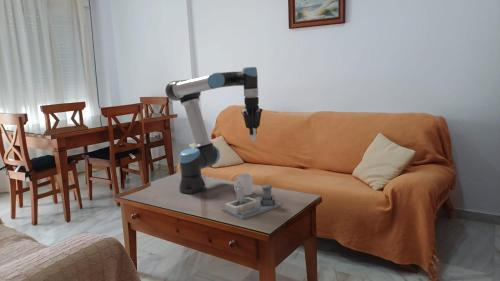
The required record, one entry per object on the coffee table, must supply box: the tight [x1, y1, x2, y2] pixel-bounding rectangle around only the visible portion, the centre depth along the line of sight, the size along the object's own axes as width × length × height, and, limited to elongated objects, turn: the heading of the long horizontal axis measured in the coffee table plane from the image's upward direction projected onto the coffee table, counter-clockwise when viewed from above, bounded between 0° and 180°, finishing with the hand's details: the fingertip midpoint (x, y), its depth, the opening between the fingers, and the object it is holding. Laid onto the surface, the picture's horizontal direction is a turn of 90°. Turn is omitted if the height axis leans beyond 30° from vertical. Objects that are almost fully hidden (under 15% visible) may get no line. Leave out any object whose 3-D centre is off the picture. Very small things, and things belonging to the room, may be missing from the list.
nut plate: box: [221, 184, 281, 220], centre depth 187 cm, size 16×24×10 cm, turn 128°
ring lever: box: [260, 195, 276, 205], centre depth 196 cm, size 18×7×2 cm, turn 0°
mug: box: [233, 173, 254, 197], centre depth 209 cm, size 12×8×10 cm
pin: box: [235, 186, 246, 206], centre depth 184 cm, size 4×4×10 cm
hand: (253, 140), depth 206 cm, fingers closed
